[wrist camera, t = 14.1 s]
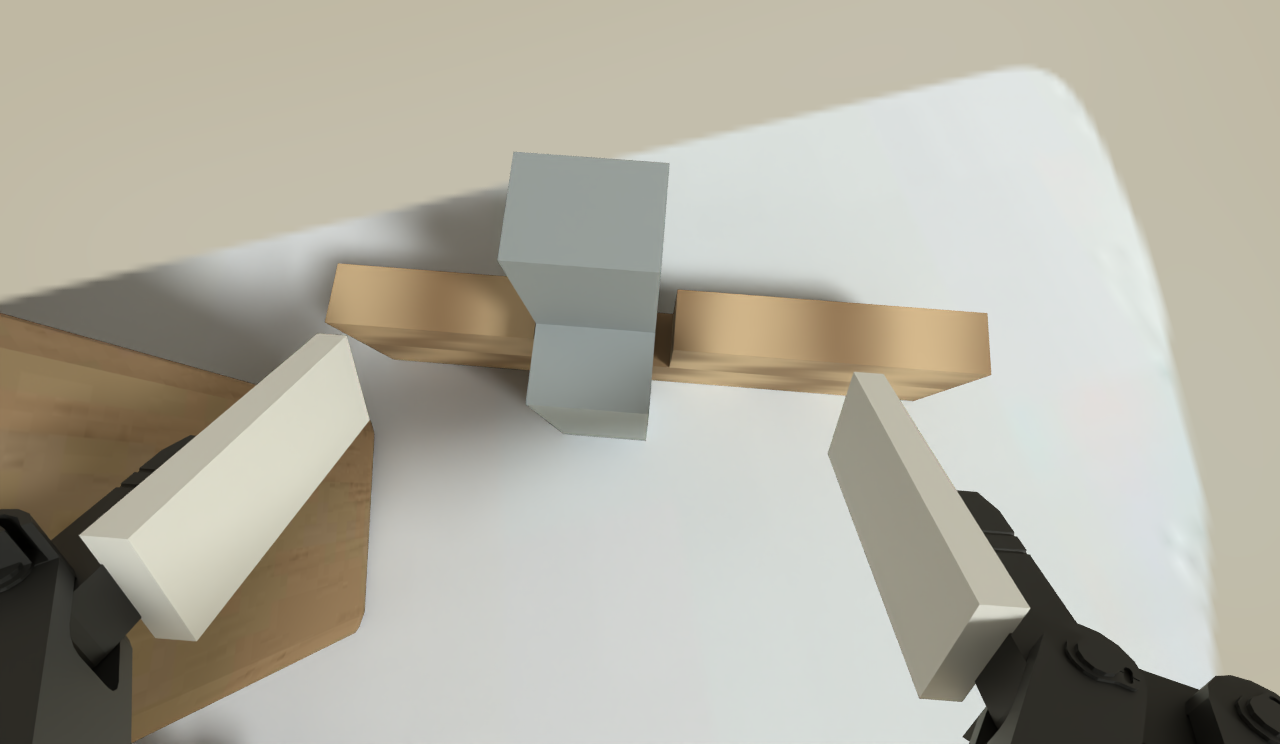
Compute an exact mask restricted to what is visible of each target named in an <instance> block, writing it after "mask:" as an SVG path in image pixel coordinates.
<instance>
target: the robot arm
mask: <svg viewBox="0 0 1280 744" xmlns="http://www.w3.org/2000/svg"><path fill="white" fill-rule="evenodd" d="M369 420H370V419H369V416H368V412H367V408H366V405H365V401H364V397H363V394H362V390H361V386H360V383H359V379H358V375H357V371H356V368H355V364H354V360H353V357H352V353H351V349H350V346H349V342H348V338H347V335H333V334H319V333H317V334H316V335H315V336H314V337H313V338H312V339H310V340H309V341H308V342H307V343H306V344H304V345H303V346H302V347H301V348H300V349H299V350H297V351H296V352H295V353H294V354H293V355H291V356H290V357H289V358H288V359H287V360H286V361H284V362H283V363H282V364H281V365H280V366H278V367H277V368H276V369H275V370H274V371H273V372H271V373H270V374H269V375H268V376H267V377H265V378H264V379H263V380H262V381H261V382H260V383H258V384H257V385H256V386H255V387H254V388H252V389H251V390H250V391H249V392H248V393H247V394H245V395H244V396H243V397H242V398H241V399H239V400H238V401H237V402H236V403H235V404H234V405H232V406H231V407H230V408H229V409H228V410H226V411H225V412H224V413H223V414H222V415H221V416H219V417H218V418H217V419H216V420H215V421H213V422H212V423H211V424H210V425H209V426H208V427H206V428H205V429H204V430H203V431H202V432H200V433H199V434H198V435H197V436H196V435H189V436H187V437H186V438H184V439H182V440H180V441H178V442H176V443H174V444H172V445H170V446H168V447H166V448H164V449H163V450H161V451H160V452H158V453H157V454H156V455H155V456H154V457H152V458H151V459H150V460H149V461H147V462H146V463H145V464H144V465H143V466H141V467H140V468H139V472H134V473H133V474H132V475H130V476H129V477H128V478H127V479H125V480H124V481H123V482H122V483H121V486H120V487H116V488H114V489H113V490H112V491H111V492H109V493H108V494H107V495H106V496H105V497H103V498H102V499H101V500H100V501H98V502H97V503H96V504H95V505H94V506H92V507H91V508H90V509H89V510H87V511H86V512H85V513H84V514H83V515H81V516H80V517H79V518H78V519H76V520H75V521H74V522H73V523H71V524H70V525H69V526H68V527H67V528H65V529H64V530H63V531H62V532H60V533H59V534H58V535H57V536H56V537H54V538H53V539H52V540H50V539H49V538H48V536H47V535H46V534H45V532H44V531H43V530H42V529H41V527H40V526H39V525H38V524H37V522H36V521H35V520H34V519H33V517H32V516H31V515H30V514H29V513H27V512H25V511H22V510H20V509H0V744H131V726H132V653H133V648H132V646H131V643H130V640H129V639H128V637H127V636H126V634H127V633H128V632H129V631H130V630H131V629H132V628H133V627H134V626H135V624H136V623H137V622H138V621H139V620H140V619H141V620H142V621H143V622H144V624H145V625H146V626H147V628H148V629H149V630H150V632H151V633H152V634H153V636H154V637H155V638H160V639H172V640H185V641H197V640H198V639H199V638H200V637H201V635H202V634H203V633H204V631H205V630H206V629H207V628H208V626H209V625H210V624H211V622H212V621H213V620H214V619H215V617H216V616H217V615H218V614H219V612H220V611H221V610H222V608H223V607H224V606H225V605H226V603H227V602H228V601H229V599H230V598H231V597H232V596H233V594H234V593H235V592H236V590H237V589H238V588H239V587H240V585H241V584H242V583H243V582H244V580H245V579H246V578H247V576H248V575H249V574H250V573H251V571H252V570H253V569H254V567H255V566H256V565H257V564H258V562H259V561H260V560H261V558H262V557H263V556H264V555H265V553H266V552H267V551H268V550H269V548H270V547H271V546H272V544H273V543H274V542H275V541H276V539H277V538H278V537H279V535H280V534H281V533H282V532H283V530H284V529H285V528H286V526H287V525H288V524H289V523H290V521H291V520H292V519H293V518H294V516H295V515H296V514H297V512H298V511H299V510H300V509H301V507H302V506H303V505H304V503H305V502H306V501H307V500H308V498H309V497H310V496H311V494H312V493H313V492H314V491H315V489H316V488H317V487H318V486H319V484H320V483H321V482H322V480H323V479H324V478H325V477H326V475H327V474H328V473H329V471H330V470H331V469H332V468H333V466H334V465H335V464H336V462H337V461H338V460H339V459H340V457H341V456H342V455H343V454H344V452H345V451H346V450H347V448H348V447H349V446H350V445H351V443H352V442H353V441H354V439H355V438H356V437H357V436H358V434H359V433H360V432H361V430H362V429H363V428H364V427H365V425H366V424H367V423H368V422H369ZM828 456H829V458H830V461H831V464H832V466H833V469H834V472H835V474H836V477H837V480H838V483H839V485H840V488H841V491H842V493H843V496H844V499H845V501H846V504H847V507H848V509H849V512H850V515H851V517H852V520H853V523H854V525H855V528H856V531H857V533H858V536H859V539H860V541H861V544H862V547H863V549H864V552H865V555H866V557H867V560H868V563H869V565H870V568H871V571H872V573H873V576H874V579H875V581H876V584H877V587H878V589H879V592H880V595H881V597H882V600H883V603H884V606H885V608H886V611H887V614H888V616H889V619H890V622H891V624H892V627H893V630H894V632H895V635H896V638H897V640H898V643H899V646H900V648H901V651H902V654H903V656H904V659H905V662H906V664H907V667H908V670H909V672H910V675H911V678H912V680H913V683H914V686H915V688H916V691H917V694H918V696H919V699H932V700H945V701H957V702H962V701H963V700H964V699H965V697H966V696H967V695H968V693H969V692H970V690H971V689H972V688H973V686H974V685H975V684H976V685H977V688H978V690H979V692H980V694H981V696H982V698H983V700H984V703H985V705H986V707H985V709H984V710H983V711H982V713H981V714H980V715H979V716H978V718H977V719H976V720H975V722H974V723H973V724H972V725H971V727H970V728H969V729H968V730H967V732H966V733H965V734H964V736H963V737H964V738H965V739H966V740H968V741H970V742H969V744H1280V696H1278V695H1277V694H1276V693H1274V692H1272V691H1270V690H1268V689H1266V688H1264V687H1262V686H1260V685H1258V684H1256V683H1254V682H1252V681H1249V680H1245V679H1242V678H1239V677H1235V676H1231V675H1228V676H1215V677H1214V678H1213V679H1212V680H1210V681H1209V682H1208V683H1207V684H1206V685H1205V686H1203V687H1202V688H1201V689H1200V690H1198V689H1195V688H1193V687H1190V686H1187V685H1184V684H1181V683H1178V682H1175V681H1172V680H1169V679H1167V678H1164V677H1161V676H1158V675H1155V674H1152V673H1149V672H1146V671H1143V670H1141V669H1139V668H1138V667H1137V665H1136V663H1135V662H1134V661H1133V660H1132V659H1131V658H1130V657H1129V656H1128V655H1127V654H1126V653H1125V652H1124V651H1123V650H1122V649H1121V648H1120V647H1119V646H1118V645H1117V644H1115V643H1114V642H1112V641H1111V640H1109V639H1108V638H1106V637H1105V636H1103V635H1102V634H1101V633H1099V632H1097V631H1094V630H1092V629H1090V628H1087V627H1085V626H1083V625H1080V624H1077V622H1076V621H1075V620H1074V618H1073V617H1072V615H1071V614H1070V612H1069V611H1068V610H1067V608H1066V607H1065V605H1064V604H1063V602H1062V601H1061V599H1060V598H1059V597H1058V595H1057V594H1056V592H1055V591H1054V589H1053V588H1052V586H1051V585H1050V583H1049V582H1048V581H1047V579H1046V578H1045V576H1044V575H1043V573H1042V572H1041V570H1040V569H1039V568H1038V566H1037V565H1036V563H1035V562H1034V560H1033V559H1032V557H1031V556H1030V555H1028V554H1027V553H1026V549H1025V547H1024V546H1023V544H1022V543H1021V541H1020V540H1019V539H1018V537H1015V536H1014V531H1013V530H1012V528H1011V527H1010V525H1009V524H1008V523H1007V521H1006V520H1005V518H1004V517H1003V515H1002V514H1001V512H1000V511H999V510H998V509H997V508H995V507H994V506H993V505H992V504H991V503H989V502H988V501H987V500H986V499H985V498H984V497H982V496H981V495H980V494H979V493H978V492H971V491H957V490H956V489H955V487H954V486H953V484H952V482H951V481H950V479H949V478H948V476H947V474H946V473H945V471H944V470H943V468H942V466H941V465H940V463H939V462H938V460H937V458H936V457H935V455H934V454H933V452H932V450H931V449H930V447H929V446H928V444H927V442H926V441H925V439H924V438H923V436H922V434H921V433H920V431H919V430H918V428H917V426H916V425H915V423H914V422H913V420H912V418H911V417H910V415H909V414H908V412H907V410H906V409H905V407H904V406H903V404H902V402H901V401H900V399H899V398H898V396H897V395H896V393H895V391H894V390H893V388H892V387H891V385H890V383H889V382H888V380H887V379H886V377H885V375H884V374H877V373H864V372H853V376H852V379H851V382H850V385H849V388H848V391H847V394H846V398H845V401H844V404H843V407H842V410H841V413H840V417H839V420H838V423H837V426H836V429H835V432H834V435H833V439H832V442H831V445H830V448H829V451H828Z"/></svg>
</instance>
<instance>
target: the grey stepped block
mask: <svg viewBox="0 0 1280 744" xmlns="http://www.w3.org/2000/svg"><path fill="white" fill-rule="evenodd" d="M668 175H669V163H661V162H647V161H633V160H620V159H606V158H592V157H577V156H563V155H551V154H550V155H549V154H537V153H522V152H514V153H513V160H512V166H511V173H510V179H509V186H508V193H507V199H506V206H505V213H504V219H503V226H502V233H501V239H500V246H499V253H498V259H497V261H498V262H499V264H500V266H501V267H502V269H503V270H504V272H505V274H506V275H507V277H508V279H509V280H510V282H511V283H512V285H513V287H514V288H515V290H516V292H517V293H518V295H519V296H520V298H521V300H522V301H523V303H524V305H525V306H526V308H527V310H528V311H529V313H530V314H531V316H532V318H533V319H534V321H535V323H536V328H535V336H534V343H533V351H532V359H531V367H530V374H529V382H528V390H527V397H526V405H527V406H528V407H530V408H531V409H532V410H533V411H535V412H536V413H537V414H539V415H540V416H541V417H543V418H544V419H545V420H546V421H548V422H549V423H550V424H552V425H553V426H554V427H556V428H557V429H558V430H559V431H561V432H562V433H563V434H570V435H582V436H594V437H607V438H619V439H631V440H643V441H646V434H647V426H648V417H649V405H650V393H651V380H652V367H653V354H654V341H655V329H656V319H657V309H658V298H659V288H660V277H661V265H662V253H663V240H664V227H665V214H666V201H667V188H668Z"/></svg>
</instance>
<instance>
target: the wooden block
mask: <svg viewBox="0 0 1280 744" xmlns="http://www.w3.org/2000/svg"><path fill="white" fill-rule="evenodd" d="M255 386H256V385H255V384H252V383H248V382H245V381H241V380H238V379H234V378H230V377H227V376H223V375H220V374H216V373H213V372H209V371H205V370H202V369H198V368H195V367H191V366H188V365H184V364H180V363H177V362H173V361H170V360H166V359H163V358H159V357H156V356H152V355H148V354H145V353H141V352H138V351H134V350H131V349H127V348H123V347H120V346H116V345H113V344H109V343H106V342H102V341H98V340H95V339H91V338H88V337H84V336H81V335H77V334H73V333H70V332H66V331H63V330H59V329H56V328H52V327H48V326H45V325H41V324H38V323H34V322H31V321H27V320H23V319H20V318H16V317H13V316H9V315H6V314H2V313H0V509H20V510H22V511H25V512H27V513H29V514H30V515H31V516H32V517H33V519H34V520H35V521H36V522H37V524H38V525H39V526H40V527H41V529H42V530H43V531H44V532H45V534H46V535H47V536H48V538H49V539H50V540H52V539H53V538H54V537H56V536H57V535H58V534H59V533H60V532H62V531H63V530H64V529H65V528H67V527H68V526H69V525H70V524H71V523H73V522H74V521H75V520H76V519H78V518H79V517H80V516H81V515H83V514H84V513H85V512H86V511H87V510H89V509H90V508H91V507H92V506H94V505H95V504H96V503H97V502H98V501H100V500H101V499H102V498H103V497H105V496H106V495H107V494H108V493H109V492H111V491H112V490H113V489H114V488H116V487H120V486H121V483H122V482H123V481H124V480H125V479H127V478H128V477H129V476H130V475H132V474H133V473H134V472H139V468H140V467H141V466H143V465H144V464H145V463H146V462H147V461H149V460H150V459H151V458H152V457H154V456H155V455H156V454H157V453H158V452H160V451H161V450H163V449H164V448H166V447H168V446H170V445H172V444H174V443H176V442H178V441H180V440H182V439H184V438H186V437H187V436H189V435H196V436H197V435H198V434H199V433H200V432H202V431H203V430H204V429H205V428H206V427H208V426H209V425H210V424H211V423H212V422H213V421H215V420H216V419H217V418H218V417H219V416H221V415H222V414H223V413H224V412H225V411H226V410H228V409H229V408H230V407H231V406H232V405H234V404H235V403H236V402H237V401H238V400H239V399H241V398H242V397H243V396H244V395H245V394H247V393H248V392H249V391H250V390H251V389H252V388H254V387H255ZM373 451H374V430H373V427H372V423H371V421H370V420H369V422H368V423H367V424H366V425H365V427H364V428H363V429H362V430H361V432H360V433H359V434H358V436H357V437H356V438H355V439H354V441H353V442H352V443H351V445H350V446H349V447H348V448H347V450H346V451H345V452H344V454H343V455H342V456H341V457H340V459H339V460H338V461H337V462H336V464H335V465H334V466H333V468H332V469H331V470H330V471H329V473H328V474H327V475H326V477H325V478H324V479H323V480H322V482H321V483H320V484H319V486H318V487H317V488H316V489H315V491H314V492H313V493H312V494H311V496H310V497H309V498H308V500H307V501H306V502H305V503H304V505H303V506H302V507H301V509H300V510H299V511H298V512H297V514H296V515H295V516H294V518H293V519H292V520H291V521H290V523H289V524H288V525H287V526H286V528H285V529H284V530H283V532H282V533H281V534H280V535H279V537H278V538H277V539H276V541H275V542H274V543H273V544H272V546H271V547H270V548H269V550H268V551H267V552H266V553H265V555H264V556H263V557H262V558H261V560H260V561H259V562H258V564H257V565H256V566H255V567H254V569H253V570H252V571H251V573H250V574H249V575H248V576H247V578H246V579H245V580H244V582H243V583H242V584H241V585H240V587H239V588H238V589H237V590H236V592H235V593H234V594H233V596H232V597H231V598H230V599H229V601H228V602H227V603H226V605H225V606H224V607H223V608H222V610H221V611H220V612H219V614H218V615H217V616H216V617H215V619H214V620H213V621H212V622H211V624H210V625H209V626H208V628H207V629H206V630H205V631H204V633H203V634H202V635H201V637H200V638H199V639H198V640H197V641H185V640H172V639H160V638H155V637H154V636H153V634H152V633H151V632H150V630H149V629H148V628H147V626H146V625H145V624H144V622H143V621H142V620H141V619H140V620H139V621H138V622H137V623H136V624H135V626H134V627H133V628H132V629H131V630H130V631H129V632H128V633H127V634H126V636H127V637H128V639H129V640H130V643H131V646H132V648H133V653H132V726H131V743H133V742H135V741H137V740H139V739H141V738H143V737H145V736H147V735H149V734H151V733H153V732H155V731H157V730H159V729H161V728H163V727H165V726H167V725H169V724H171V723H173V722H175V721H177V720H179V719H181V718H183V717H185V716H187V715H189V714H191V713H193V712H195V711H197V710H199V709H202V708H204V707H206V706H208V705H210V704H212V703H214V702H216V701H218V700H220V699H222V698H224V697H226V696H228V695H230V694H232V693H234V692H236V691H238V690H240V689H242V688H244V687H246V686H248V685H250V684H252V683H254V682H256V681H258V680H260V679H262V678H264V677H266V676H268V675H270V674H272V673H274V672H277V671H279V670H281V669H283V668H285V667H287V666H289V665H291V664H293V663H295V662H297V661H299V660H301V659H303V658H305V657H307V656H309V655H311V654H313V653H315V652H317V651H319V650H321V649H323V648H325V647H327V646H329V645H331V644H333V643H335V642H337V641H339V640H341V639H343V638H345V637H347V636H349V635H352V634H354V633H356V631H357V629H358V628H359V626H360V623H361V620H362V618H363V615H364V612H365V595H366V577H367V559H368V541H369V523H370V505H371V487H372V469H373Z"/></svg>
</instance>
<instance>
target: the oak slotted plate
mask: <svg viewBox="0 0 1280 744" xmlns="http://www.w3.org/2000/svg"><path fill="white" fill-rule="evenodd" d="M325 323H327V324H329V325H331V326H332V327H334V328H336V329H338V330H340V331H342V332H344V333H345V334H347V335H349V336H351V337H353V338H355V339H357V340H358V341H360V342H362V343H364V344H366V345H368V346H370V347H371V348H373V349H375V350H377V351H379V352H381V353H382V354H384V355H386V356H388V357H390V358H392V359H395V360H408V361H420V362H433V363H445V364H458V365H470V366H483V367H495V368H508V369H520V370H530V367H531V359H532V351H533V343H534V336H535V328H536V323H535V321H534V319H533V318H532V316H531V314H530V313H529V311H528V310H527V308H526V306H525V305H524V303H523V301H522V300H521V298H520V296H519V295H518V293H517V292H516V290H515V288H514V287H513V285H512V283H511V282H510V280H509V279H508V277H507V276H495V275H482V274H469V273H456V272H443V271H430V270H417V269H404V268H391V267H378V266H365V265H352V264H339V263H338V265H337V270H336V274H335V279H334V283H333V288H332V292H331V297H330V301H329V306H328V310H327V315H326V319H325ZM853 372H864V373H877V374H884V375H885V377H886V379H887V380H888V382H889V383H890V385H891V387H892V388H893V390H894V391H895V393H896V395H897V396H898V398H899V399H900V400H908V401H915V400H918V399H921V398H924V397H927V396H930V395H933V394H936V393H939V392H942V391H945V390H948V389H951V388H954V387H957V386H960V385H963V384H966V383H969V382H972V381H975V380H978V379H981V378H984V377H987V376H990V375H991V363H990V348H989V332H988V316H987V313H977V312H964V311H951V310H938V309H925V308H912V307H899V306H886V305H873V304H860V303H847V302H834V301H821V300H808V299H795V298H782V297H769V296H756V295H743V294H729V293H716V292H703V291H690V290H678V291H677V296H676V302H675V307H674V312H673V314H667V313H657V319H656V329H655V341H654V354H653V367H652V380H658V381H670V382H683V383H695V384H708V385H720V386H733V387H745V388H758V389H770V390H783V391H795V392H808V393H820V394H833V395H845V396H846V394H847V391H848V388H849V385H850V382H851V379H852V376H853Z"/></svg>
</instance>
